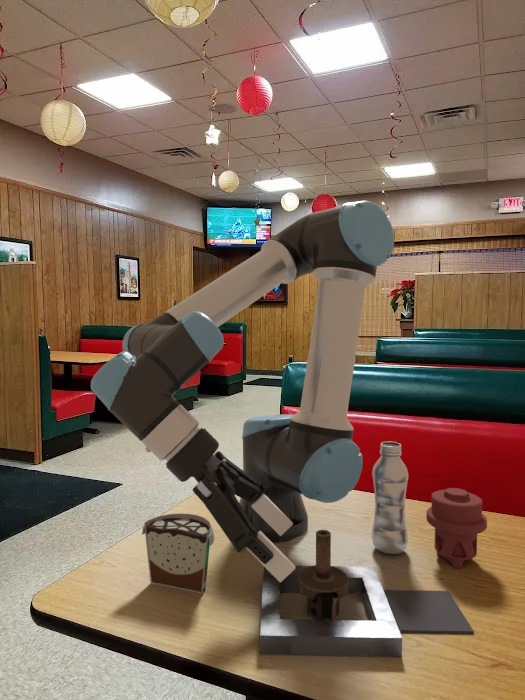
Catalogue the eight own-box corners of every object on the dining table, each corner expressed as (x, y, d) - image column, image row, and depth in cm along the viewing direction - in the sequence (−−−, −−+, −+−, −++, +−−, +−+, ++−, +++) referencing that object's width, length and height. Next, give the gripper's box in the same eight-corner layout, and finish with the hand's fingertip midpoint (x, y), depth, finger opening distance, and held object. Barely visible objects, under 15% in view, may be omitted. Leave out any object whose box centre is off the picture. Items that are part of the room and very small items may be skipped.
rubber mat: (384, 591, 77) (384, 589, 77) (448, 592, 77) (448, 590, 77) (399, 632, 67) (400, 629, 67) (473, 633, 67) (473, 631, 67)
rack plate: (263, 579, 81) (263, 565, 81) (373, 581, 80) (374, 566, 80) (260, 654, 63) (260, 635, 63) (401, 656, 62) (402, 638, 62)
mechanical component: (478, 548, 92) (492, 576, 82) (422, 544, 94) (429, 570, 84) (480, 484, 91) (494, 504, 81) (423, 480, 93) (430, 499, 83)
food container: (226, 576, 82) (226, 517, 81) (211, 595, 76) (210, 532, 76) (162, 564, 86) (161, 508, 85) (142, 581, 80) (141, 522, 80)
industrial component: (296, 596, 76) (297, 521, 75) (343, 597, 76) (344, 521, 75) (300, 635, 67) (300, 549, 66) (353, 636, 66) (354, 550, 66)
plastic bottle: (388, 562, 87) (390, 450, 85) (363, 546, 93) (365, 442, 91) (415, 554, 90) (417, 446, 88) (390, 539, 96) (391, 438, 94)
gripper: (181, 440, 82) (270, 530, 83) (138, 493, 58) (265, 620, 58) (213, 410, 82) (302, 499, 82) (183, 449, 57) (311, 577, 57)
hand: (287, 549), depth 70 cm, fingers open, 13 cm apart
